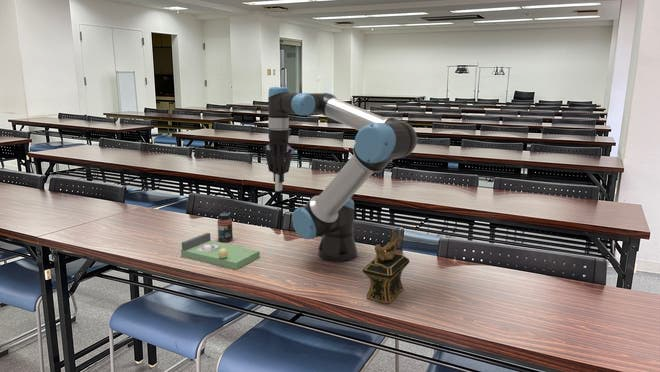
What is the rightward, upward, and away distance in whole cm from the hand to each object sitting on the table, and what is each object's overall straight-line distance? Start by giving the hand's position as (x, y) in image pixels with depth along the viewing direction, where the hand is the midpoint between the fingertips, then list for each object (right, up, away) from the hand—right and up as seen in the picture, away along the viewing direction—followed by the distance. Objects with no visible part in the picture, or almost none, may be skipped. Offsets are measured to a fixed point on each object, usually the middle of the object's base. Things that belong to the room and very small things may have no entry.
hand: (278, 190), depth 179 cm
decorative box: (+38, -33, -30) cm, 58 cm away
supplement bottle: (-24, -21, +16) cm, 36 cm away
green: (-22, -25, -3) cm, 33 cm away
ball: (-27, -23, 0) cm, 35 cm away
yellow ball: (-19, -23, -11) cm, 31 cm away
